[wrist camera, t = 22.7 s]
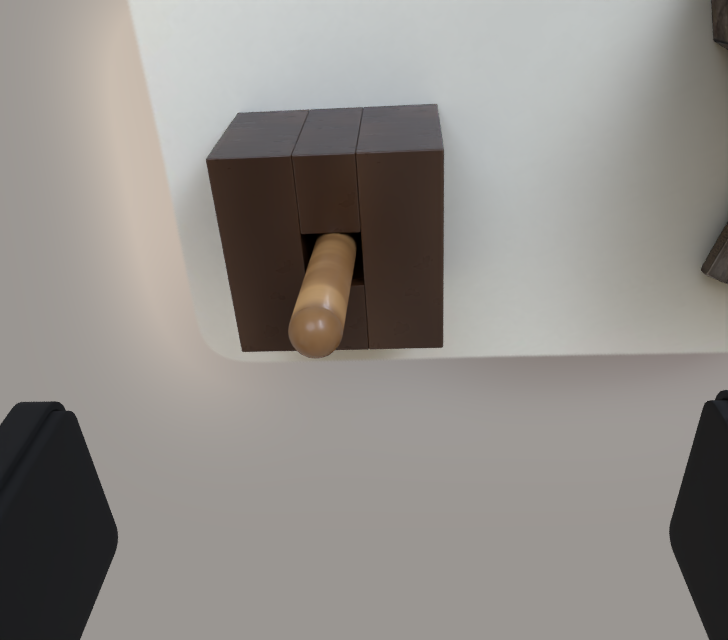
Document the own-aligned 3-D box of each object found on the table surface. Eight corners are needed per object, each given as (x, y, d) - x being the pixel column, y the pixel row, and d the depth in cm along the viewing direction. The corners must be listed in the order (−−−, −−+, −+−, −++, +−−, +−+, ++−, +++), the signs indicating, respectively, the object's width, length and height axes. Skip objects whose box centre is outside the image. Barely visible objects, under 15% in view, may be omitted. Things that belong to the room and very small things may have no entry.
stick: (320, 210, 39) (273, 347, 25) (342, 183, 38) (306, 308, 24) (349, 231, 39) (318, 378, 25) (370, 205, 39) (352, 340, 24)
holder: (264, 285, 42) (241, 352, 36) (237, 112, 36) (205, 158, 30) (437, 280, 41) (443, 348, 35) (437, 103, 35) (444, 149, 30)
